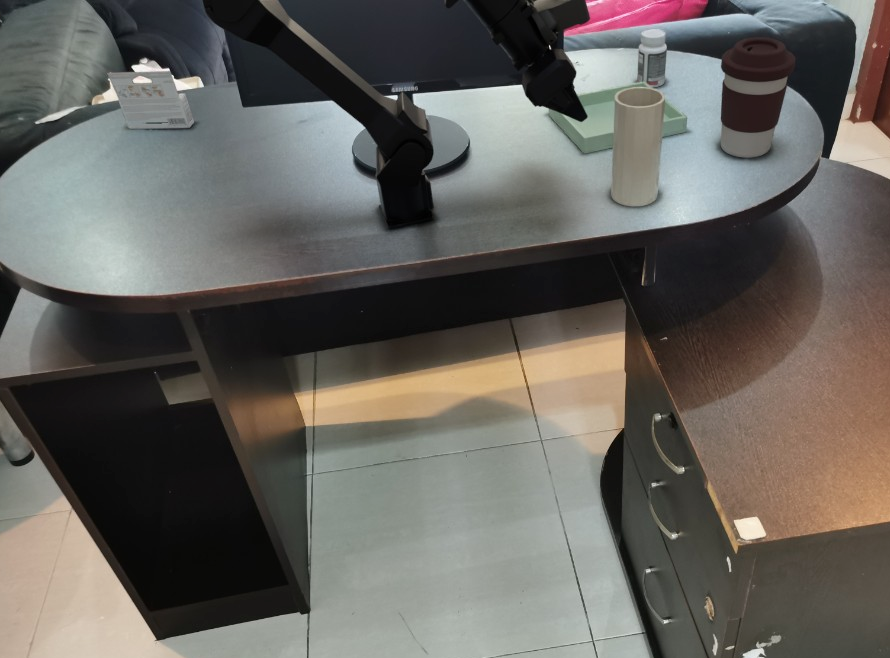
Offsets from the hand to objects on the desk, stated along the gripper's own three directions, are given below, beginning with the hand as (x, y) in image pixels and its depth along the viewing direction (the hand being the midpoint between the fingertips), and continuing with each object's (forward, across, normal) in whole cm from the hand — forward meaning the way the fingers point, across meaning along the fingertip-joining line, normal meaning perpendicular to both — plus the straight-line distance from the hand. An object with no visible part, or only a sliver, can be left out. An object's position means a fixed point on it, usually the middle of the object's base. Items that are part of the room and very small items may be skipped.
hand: (578, 104), depth 108 cm
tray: (+17, +22, 0) cm, 27 cm away
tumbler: (+15, -2, +2) cm, 15 cm away
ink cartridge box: (-28, +38, +60) cm, 77 cm away
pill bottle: (+22, +36, -8) cm, 43 cm away
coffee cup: (+27, +9, -14) cm, 31 cm away
